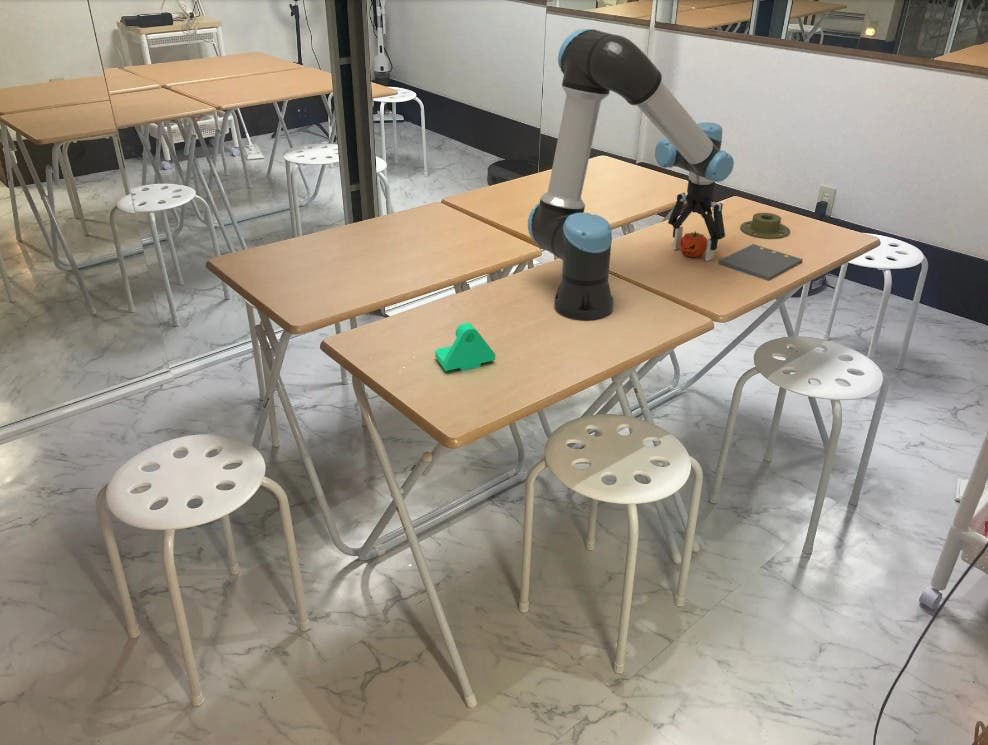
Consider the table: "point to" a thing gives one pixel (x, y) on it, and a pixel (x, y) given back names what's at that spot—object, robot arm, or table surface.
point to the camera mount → (465, 350)
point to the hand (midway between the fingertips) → (692, 254)
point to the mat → (760, 261)
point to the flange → (765, 226)
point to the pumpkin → (693, 244)
